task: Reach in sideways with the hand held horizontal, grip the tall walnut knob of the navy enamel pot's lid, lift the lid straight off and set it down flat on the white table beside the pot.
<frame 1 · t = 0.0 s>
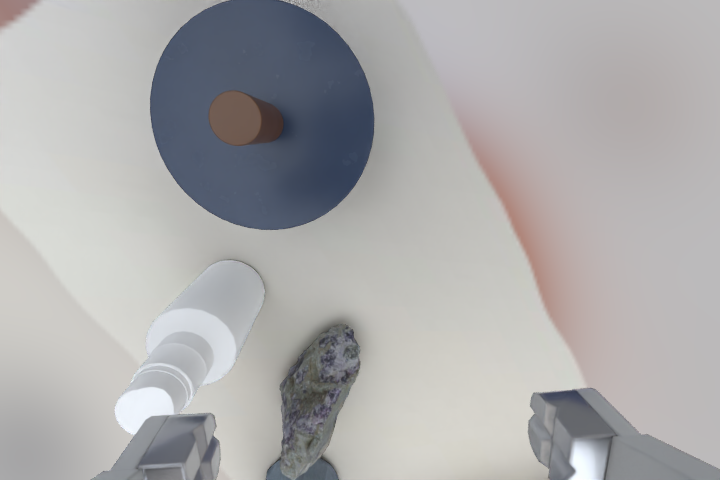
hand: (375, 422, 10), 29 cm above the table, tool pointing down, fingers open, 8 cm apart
moka pot: (301, 475, 46), on the table
mineral rock: (326, 374, 42), on the table
spray bottle: (233, 289, 39), on the table
lid: (265, 123, 26), point 9 cm above the table, touching pot
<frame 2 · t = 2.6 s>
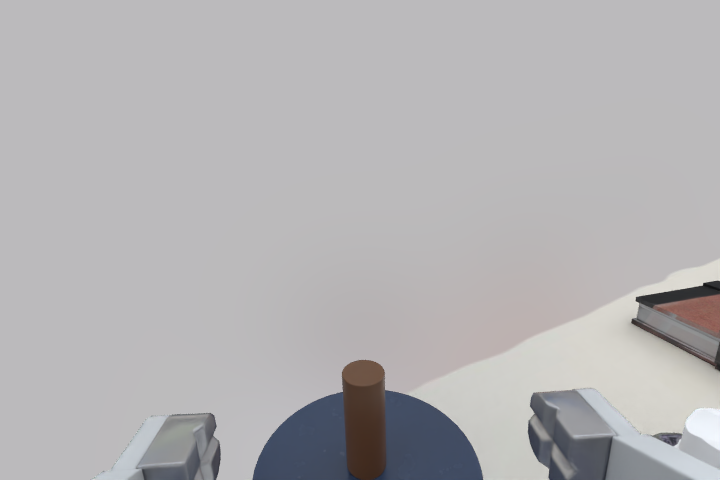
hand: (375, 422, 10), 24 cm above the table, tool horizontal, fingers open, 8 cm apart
lid: (366, 470, 25), point 9 cm above the table, touching pot
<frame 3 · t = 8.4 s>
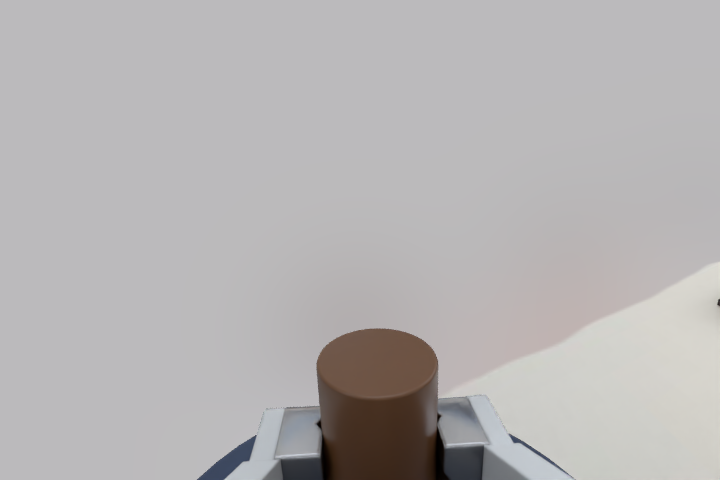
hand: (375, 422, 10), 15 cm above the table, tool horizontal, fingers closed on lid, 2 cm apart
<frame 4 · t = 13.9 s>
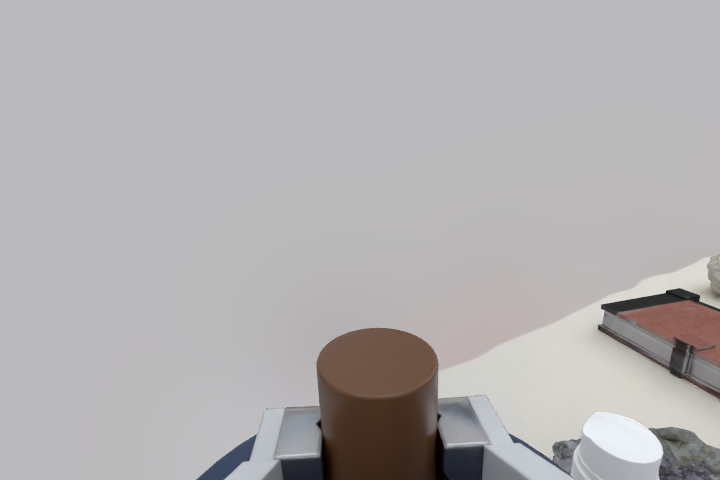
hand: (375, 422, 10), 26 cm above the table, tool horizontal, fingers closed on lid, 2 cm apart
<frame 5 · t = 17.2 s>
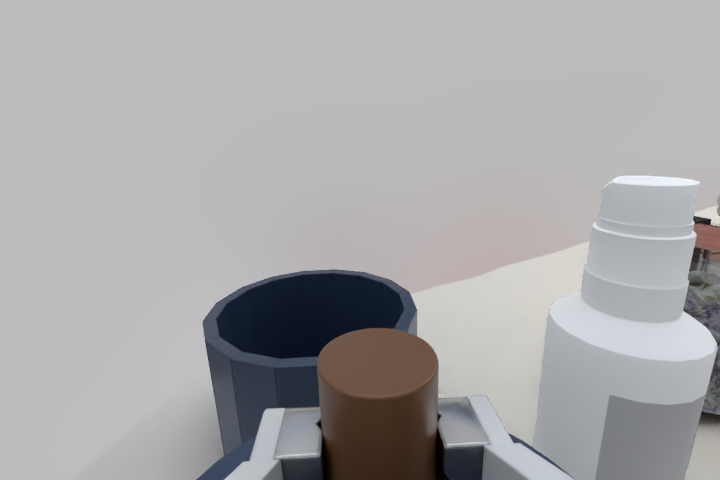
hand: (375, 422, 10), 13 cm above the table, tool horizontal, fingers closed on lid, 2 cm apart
mineral rock: (655, 385, 31), on the table
pot: (321, 422, 28), on the table
when the fingers open (6 cm above the table, at t = 19.5 s): lid stays where it is, point 1 cm above the table.
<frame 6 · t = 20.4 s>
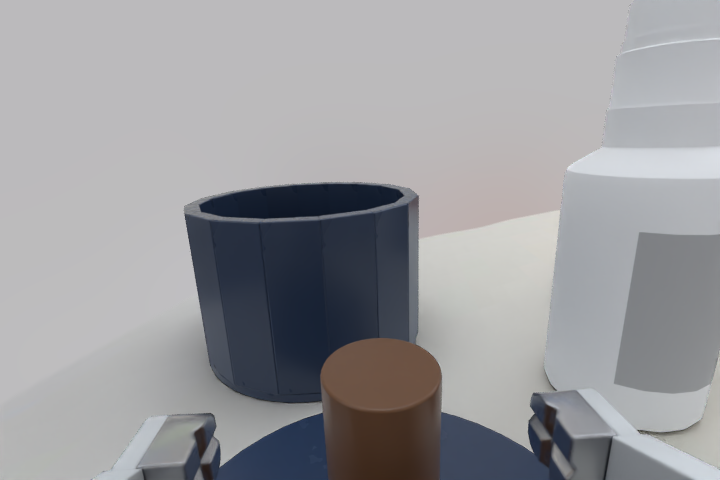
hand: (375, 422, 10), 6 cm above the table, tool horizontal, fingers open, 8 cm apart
spray bottle: (615, 388, 20), on the table
pot: (315, 334, 26), on the table
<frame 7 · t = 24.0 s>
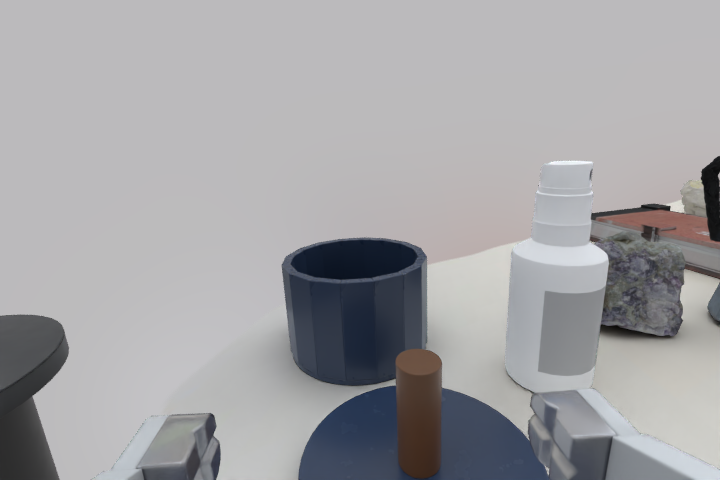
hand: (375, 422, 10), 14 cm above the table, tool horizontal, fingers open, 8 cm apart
book: (685, 252, 62), on the table
mineral rock: (601, 319, 42), on the table
spray bottle: (546, 375, 33), on the table
lid: (419, 468, 23), point 1 cm above the table
white rock: (709, 218, 82), on the table
pot: (359, 343, 39), on the table
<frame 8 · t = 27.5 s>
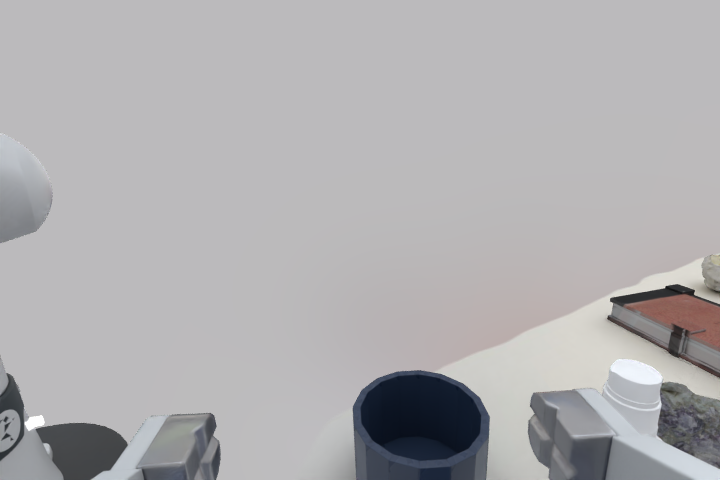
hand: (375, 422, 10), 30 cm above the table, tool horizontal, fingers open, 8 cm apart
book: (712, 347, 64), on the table
mineral rock: (644, 453, 44), on the table
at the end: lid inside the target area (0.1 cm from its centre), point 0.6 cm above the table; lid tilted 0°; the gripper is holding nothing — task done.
